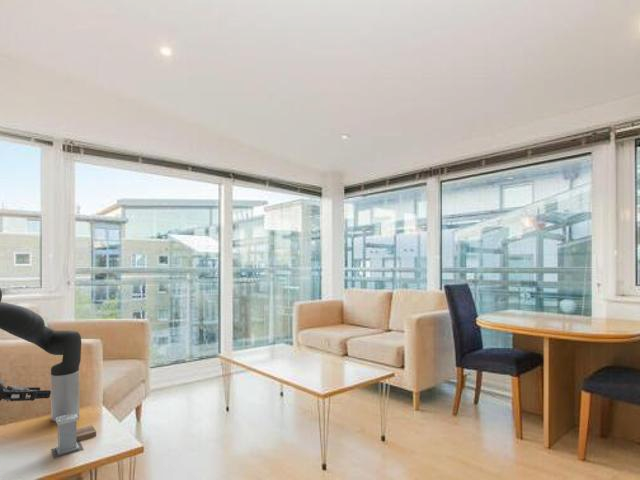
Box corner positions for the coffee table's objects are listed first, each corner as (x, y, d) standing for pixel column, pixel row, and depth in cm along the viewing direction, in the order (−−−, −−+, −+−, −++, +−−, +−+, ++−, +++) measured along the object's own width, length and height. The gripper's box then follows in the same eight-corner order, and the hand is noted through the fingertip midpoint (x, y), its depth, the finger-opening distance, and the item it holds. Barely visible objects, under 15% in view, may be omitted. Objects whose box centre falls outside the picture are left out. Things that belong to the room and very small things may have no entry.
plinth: (68, 438, 138) (68, 430, 138) (92, 432, 142) (92, 424, 142) (72, 445, 132) (72, 437, 132) (96, 438, 137) (96, 431, 137)
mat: (50, 452, 128) (50, 449, 128) (79, 444, 133) (79, 441, 133) (53, 462, 122) (53, 458, 122) (84, 453, 127) (84, 449, 127)
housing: (55, 449, 128) (55, 417, 128) (76, 443, 131) (75, 412, 132) (58, 455, 124) (57, 422, 124) (79, 449, 127) (78, 417, 127)
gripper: (-11, 382, 107) (56, 381, 120) (-25, 377, 116) (39, 377, 128) (-19, 412, 105) (50, 408, 118) (-33, 405, 114) (32, 402, 126)
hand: (44, 392), depth 123 cm, fingers open, 8 cm apart
